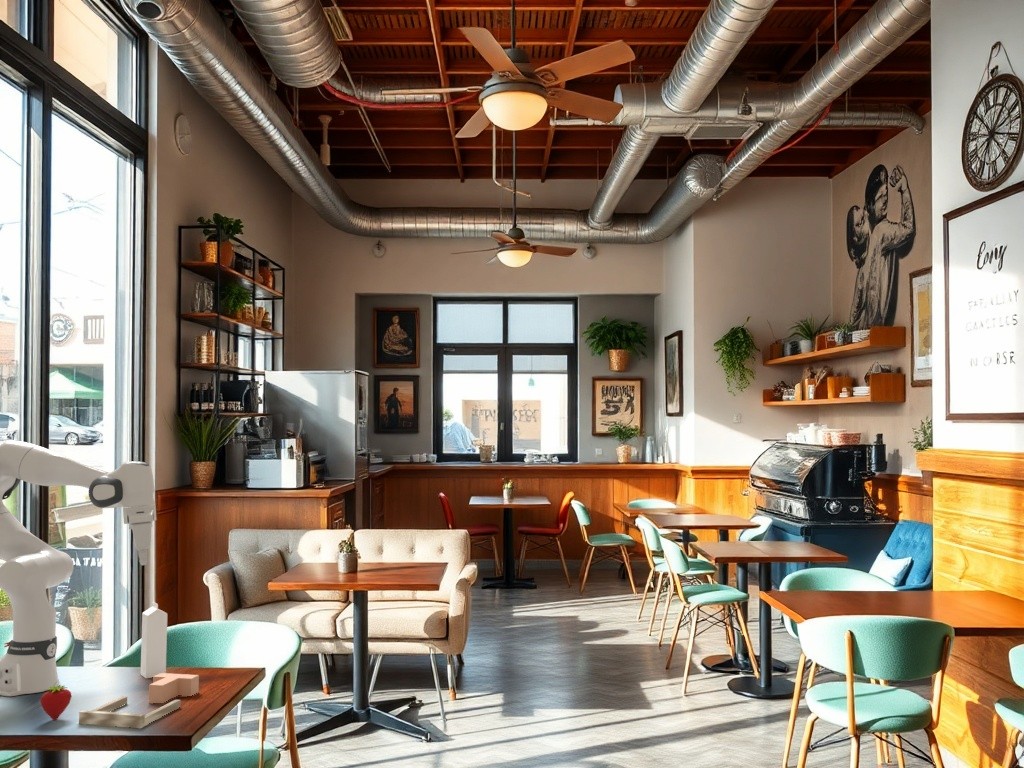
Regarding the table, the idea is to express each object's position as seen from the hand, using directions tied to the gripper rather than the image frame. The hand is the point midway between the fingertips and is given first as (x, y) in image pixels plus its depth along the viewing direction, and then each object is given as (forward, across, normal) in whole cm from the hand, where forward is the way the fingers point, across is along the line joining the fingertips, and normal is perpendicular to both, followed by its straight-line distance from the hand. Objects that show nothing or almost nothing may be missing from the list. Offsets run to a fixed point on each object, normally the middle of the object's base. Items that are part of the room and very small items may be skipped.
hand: (143, 564), depth 259 cm
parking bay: (+37, +20, -6) cm, 43 cm away
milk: (+36, -21, +1) cm, 41 cm away
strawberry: (+36, +16, -24) cm, 46 cm away
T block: (+37, +7, +4) cm, 38 cm away
